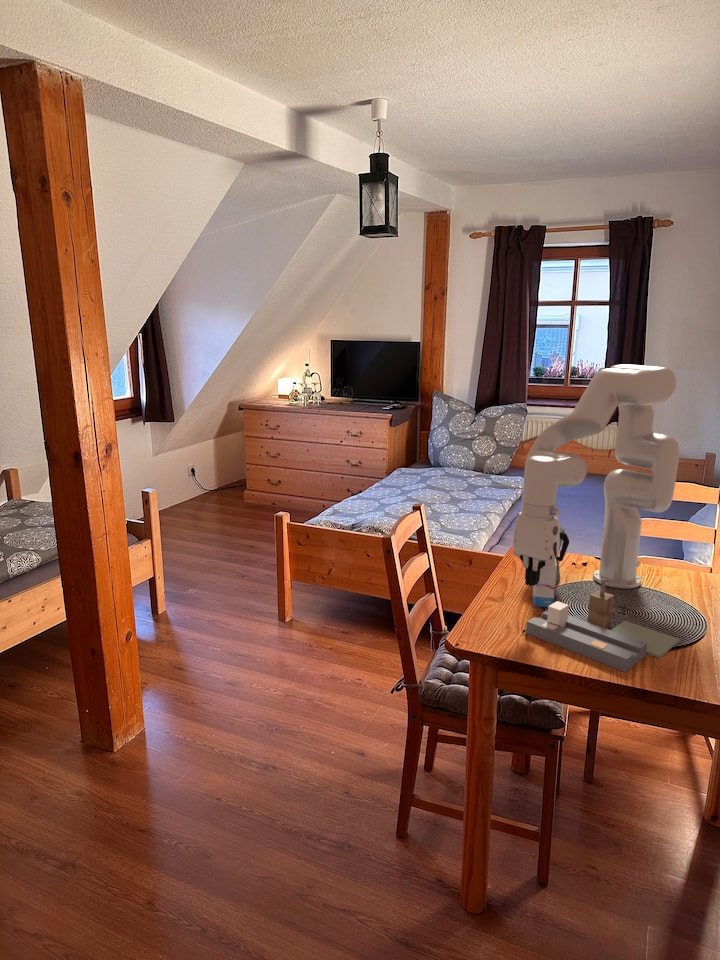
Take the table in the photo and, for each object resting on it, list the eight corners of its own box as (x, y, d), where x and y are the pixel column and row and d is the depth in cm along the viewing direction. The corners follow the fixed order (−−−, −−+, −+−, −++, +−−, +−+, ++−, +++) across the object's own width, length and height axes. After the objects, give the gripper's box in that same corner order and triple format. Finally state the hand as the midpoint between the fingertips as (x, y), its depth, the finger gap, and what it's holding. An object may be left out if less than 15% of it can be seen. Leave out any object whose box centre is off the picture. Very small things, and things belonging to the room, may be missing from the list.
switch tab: (555, 620, 159) (557, 601, 158) (567, 624, 157) (568, 605, 156) (546, 625, 157) (548, 606, 155) (558, 630, 154) (560, 610, 153)
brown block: (595, 620, 164) (599, 574, 161) (610, 626, 161) (615, 579, 158) (587, 625, 161) (591, 579, 158) (602, 631, 159) (607, 584, 156)
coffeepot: (515, 572, 194) (519, 512, 189) (541, 567, 198) (546, 509, 193) (550, 592, 180) (555, 528, 176) (577, 587, 184) (583, 524, 179)
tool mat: (624, 622, 163) (624, 620, 163) (679, 641, 154) (679, 639, 154) (602, 637, 156) (603, 635, 155) (659, 658, 146) (659, 655, 146)
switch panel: (548, 619, 164) (549, 608, 164) (645, 655, 148) (647, 642, 147) (525, 633, 158) (526, 621, 157) (625, 672, 141) (626, 658, 140)
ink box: (554, 608, 171) (557, 564, 168) (533, 606, 172) (537, 563, 169) (551, 594, 179) (555, 553, 176) (532, 593, 180) (535, 551, 177)
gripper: (576, 513, 152) (568, 589, 157) (519, 500, 163) (513, 571, 167) (559, 520, 147) (551, 598, 152) (501, 505, 158) (496, 579, 162)
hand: (531, 584), depth 159 cm, fingers closed
